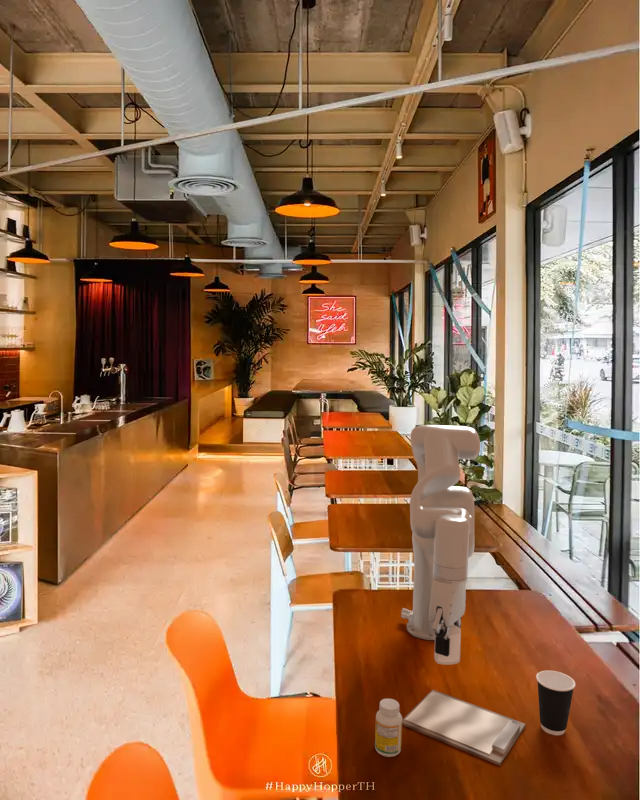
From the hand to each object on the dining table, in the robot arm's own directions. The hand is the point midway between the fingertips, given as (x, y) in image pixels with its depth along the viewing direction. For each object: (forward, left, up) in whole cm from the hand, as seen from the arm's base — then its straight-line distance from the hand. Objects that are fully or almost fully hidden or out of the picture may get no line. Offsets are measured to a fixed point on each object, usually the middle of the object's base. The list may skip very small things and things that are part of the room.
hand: (447, 648), depth 139 cm
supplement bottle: (-3, -21, -14) cm, 25 cm away
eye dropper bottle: (0, 0, -3) cm, 3 cm away
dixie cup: (+22, +7, -14) cm, 27 cm away
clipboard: (+6, -4, -14) cm, 16 cm away
